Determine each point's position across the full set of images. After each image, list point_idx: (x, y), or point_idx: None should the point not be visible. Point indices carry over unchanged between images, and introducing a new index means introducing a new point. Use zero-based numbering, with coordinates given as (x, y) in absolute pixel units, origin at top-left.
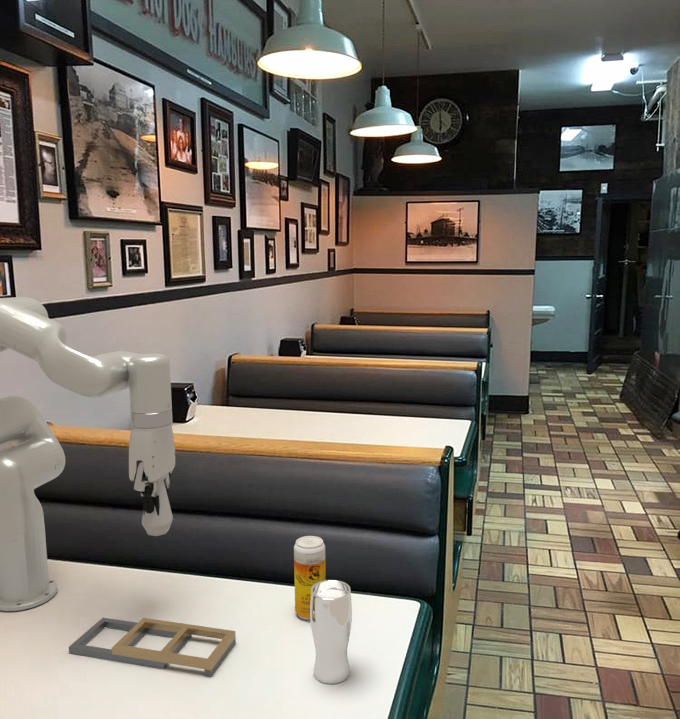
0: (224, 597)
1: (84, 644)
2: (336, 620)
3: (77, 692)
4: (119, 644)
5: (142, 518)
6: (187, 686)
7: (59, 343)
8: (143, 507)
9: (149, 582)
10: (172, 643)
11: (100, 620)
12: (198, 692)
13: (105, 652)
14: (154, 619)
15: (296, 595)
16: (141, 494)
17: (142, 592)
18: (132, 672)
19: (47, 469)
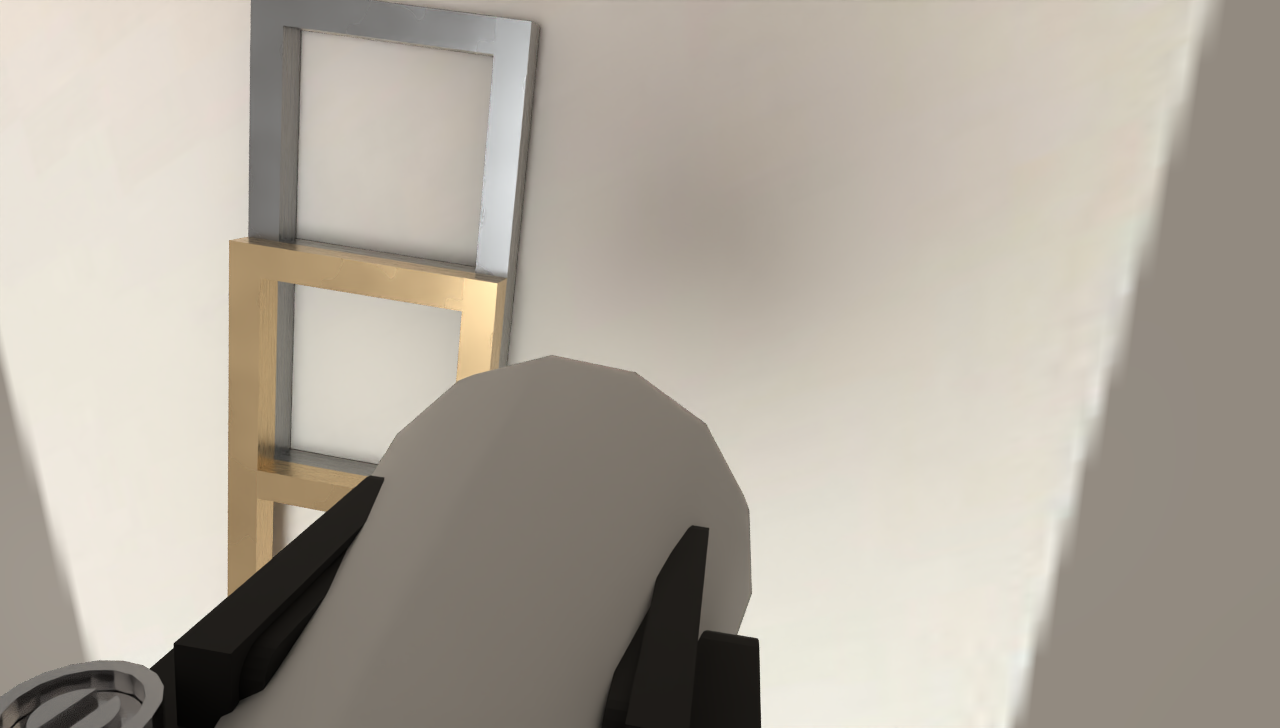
0: (854, 573)
1: (338, 34)
2: None
3: (56, 187)
4: (259, 266)
5: (435, 413)
6: (194, 583)
7: None
8: (315, 526)
9: (1028, 89)
10: (318, 501)
11: (501, 24)
12: (175, 627)
13: (251, 199)
14: (490, 349)
15: None
16: (14, 706)
17: (894, 100)
18: (217, 353)
19: None
